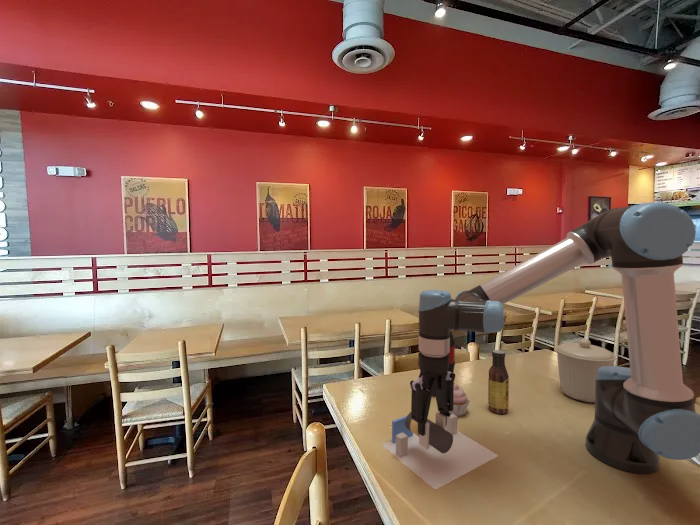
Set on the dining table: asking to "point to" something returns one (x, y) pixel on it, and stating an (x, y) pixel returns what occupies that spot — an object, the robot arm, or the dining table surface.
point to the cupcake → (459, 401)
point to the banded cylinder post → (432, 434)
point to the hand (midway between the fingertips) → (432, 442)
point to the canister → (581, 368)
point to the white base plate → (437, 454)
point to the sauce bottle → (498, 384)
